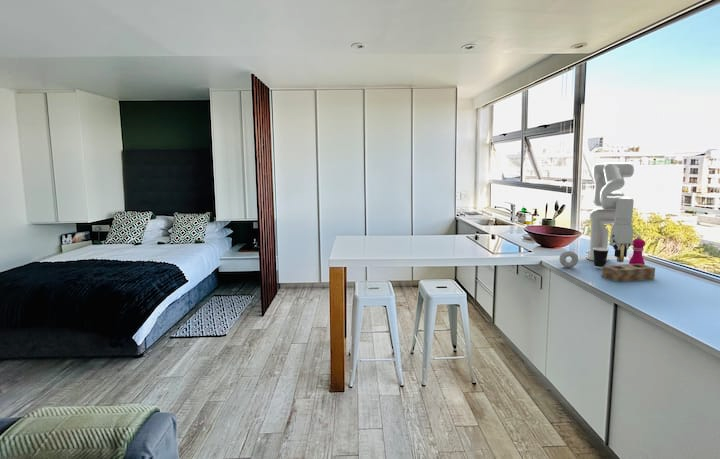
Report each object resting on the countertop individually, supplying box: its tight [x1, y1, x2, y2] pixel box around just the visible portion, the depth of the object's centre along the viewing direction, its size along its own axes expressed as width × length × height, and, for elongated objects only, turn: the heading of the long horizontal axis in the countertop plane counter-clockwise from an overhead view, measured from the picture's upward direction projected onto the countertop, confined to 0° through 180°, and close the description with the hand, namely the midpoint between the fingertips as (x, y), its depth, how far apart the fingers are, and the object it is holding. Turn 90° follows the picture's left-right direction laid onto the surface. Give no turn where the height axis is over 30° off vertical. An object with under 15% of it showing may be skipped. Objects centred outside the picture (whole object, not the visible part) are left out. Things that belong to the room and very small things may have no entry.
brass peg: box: [616, 244, 625, 263], centre depth 215 cm, size 3×3×10 cm
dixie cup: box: [593, 247, 609, 270], centre depth 240 cm, size 8×8×11 cm
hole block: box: [601, 263, 656, 283], centre depth 218 cm, size 22×10×6 cm, turn 99°
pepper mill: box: [628, 235, 646, 265], centre depth 229 cm, size 7×7×20 cm
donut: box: [559, 250, 579, 268], centre depth 241 cm, size 10×4×10 cm, turn 76°
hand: (620, 256), depth 216 cm, fingers closed on brass peg, 3 cm apart
